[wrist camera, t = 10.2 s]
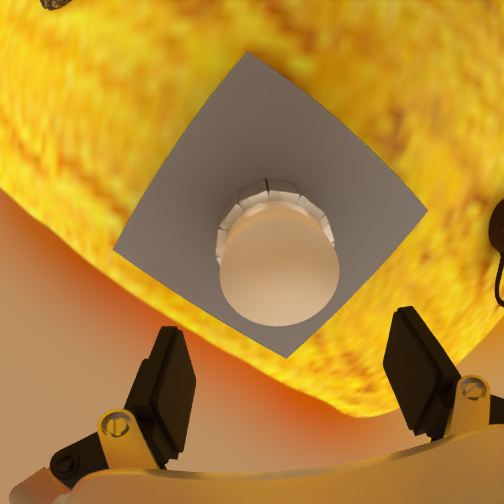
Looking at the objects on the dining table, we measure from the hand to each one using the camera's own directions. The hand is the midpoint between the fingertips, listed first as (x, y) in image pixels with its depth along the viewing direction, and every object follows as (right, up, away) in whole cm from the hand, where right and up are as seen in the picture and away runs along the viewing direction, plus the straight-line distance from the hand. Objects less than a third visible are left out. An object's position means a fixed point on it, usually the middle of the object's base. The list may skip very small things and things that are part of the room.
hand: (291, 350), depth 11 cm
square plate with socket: (0, +6, +15) cm, 16 cm away
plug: (0, +6, +13) cm, 14 cm away
